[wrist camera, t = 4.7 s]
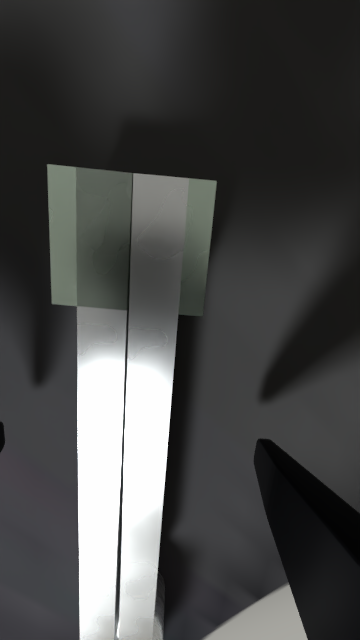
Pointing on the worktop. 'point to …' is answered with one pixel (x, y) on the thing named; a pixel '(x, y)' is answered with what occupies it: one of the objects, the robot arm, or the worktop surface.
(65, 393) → the worktop surface
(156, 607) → the tong handle block
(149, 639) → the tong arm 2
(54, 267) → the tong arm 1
